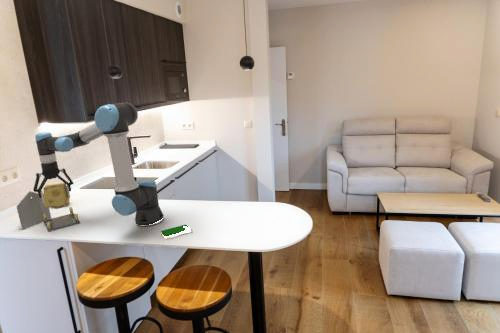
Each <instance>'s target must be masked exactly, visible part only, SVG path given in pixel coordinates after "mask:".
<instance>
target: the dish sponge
mask: <svg viewBox="0 0 500 333" xmlns="http://www.w3.org/2000/svg"><path fill="white" fill-rule="evenodd" d="M183 226H187V225H186V224H182V225H179V226H174V227H171V228H167V229H162V230H161V231H160V233H161V232H162V234H163V235H164V236H169V235H172V234H176V233H179V232H181V231H184V230H185V228H183ZM187 227H188V226H187Z"/></svg>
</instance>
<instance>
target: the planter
mask: <svg viewBox="0 0 500 333" xmlns="http://www.w3.org/2000/svg"><path fill="white" fill-rule="evenodd" d="M16 211H17V214H18V218H19V223H20V227H21V230H22V231H23V230H26V229H28V228H32V227H33V226H35V225H36V226H37V225H38V224H40V223H44V219H43V215H42V214H46V217H47V220H48V219H52V216H51V215H52V214H51V211H50V207H45V206H44V204H43V202H42V198H39V195H38V192H34V191H30V190H29V191H28V192H27V193H26V195H24V197H23V198H22V199H21V200H20V202H19V203H18V204H17V205H16Z"/></svg>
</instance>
